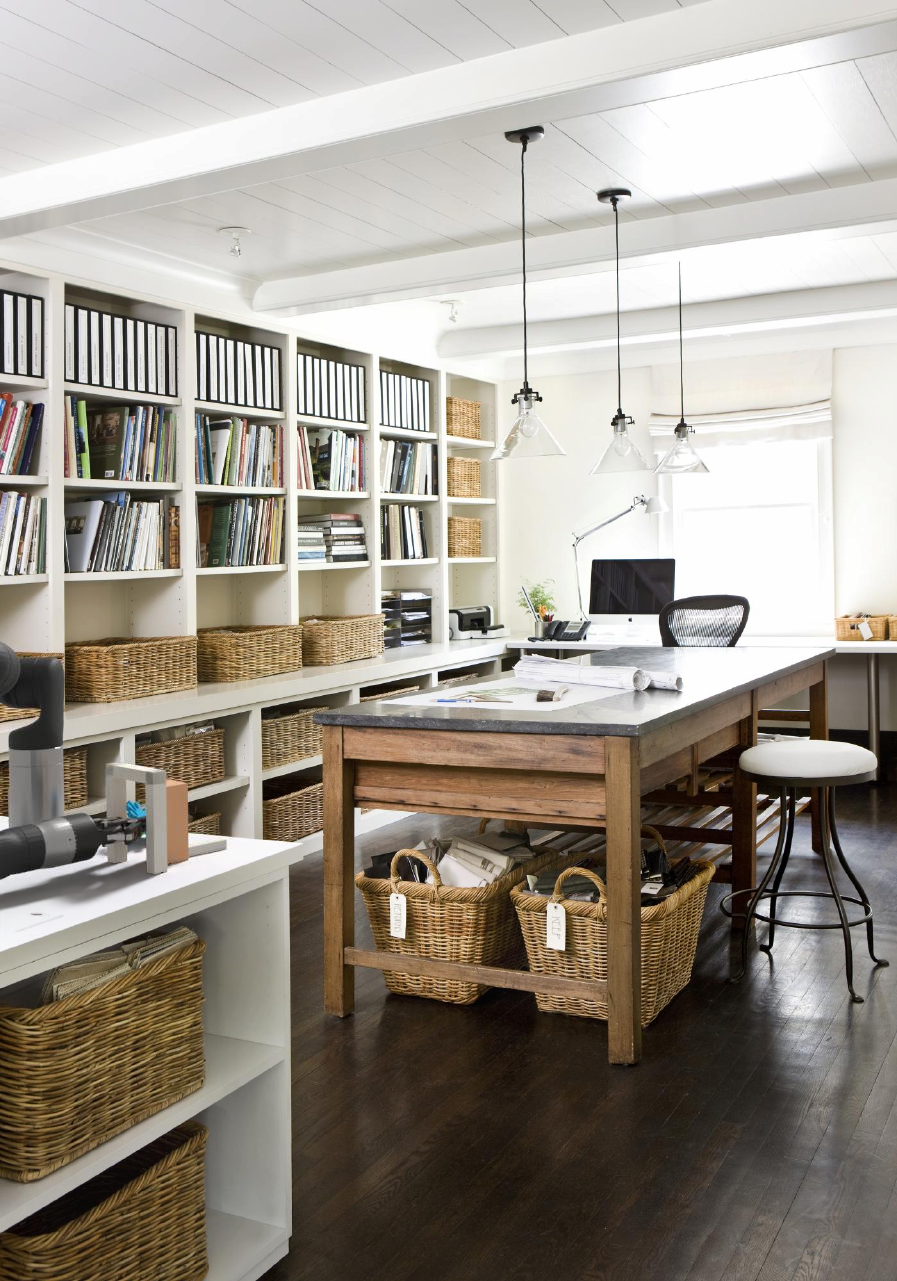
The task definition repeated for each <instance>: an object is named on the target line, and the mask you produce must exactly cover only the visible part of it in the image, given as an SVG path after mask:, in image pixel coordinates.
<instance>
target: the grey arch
mask: <svg viewBox="0 0 897 1281" xmlns="http://www.w3.org/2000/svg"><path fill="white" fill-rule="evenodd" d="M166 780H167V770H165V769H159V768H153V767H149V766H143V765H137V764H132V763H125V762H122V761H121V762H120V761H116V762H109V763H106V764H105V781H106V782H105V785H106V786H105V787H106V789H105V790H106V796H105V797H106V818H113V817H122V819H125V818H128V815H127V813H128V811H127V808H126V803H127V781H130V782H131V781H132V782H136V783H141V784H144V785H145V784H146V796H145V807H146V835H145V837H146V836H147V860H146V873H147V872H148V873H147V874H151V875H159V874H162V873H161V872H163V873H167V872H168V864H167V805H166ZM106 849H107V855H106V856H107V862H108V861H109V862H108V863H112V864H118V863H122V861H123V862H126V861H128V845H125V843H124V841H123V842H119V843H115V844H114V845H113V846H109V847H106Z"/></svg>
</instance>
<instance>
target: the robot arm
mask: <svg viewBox="0 0 897 1281" xmlns="http://www.w3.org/2000/svg"><path fill="white" fill-rule="evenodd" d="M65 676H66V675H65V671H64V666H63V663H62V661H61V660H60V659H58V658H56V657H51V656H50V657H49V656H47V657H46V656H44V657H43V656H40V657H38V656H36V657H35V656H34V657H33V656H31V657H29V656H28V657H27V656H23V657H22V656H20V657H19V656H18V654H17V653H16V652H15V650H14V649H13V648H12V647H10V646H9V645H7V644H6V643H5V642H2V641H0V704H2V705H3V706H6V707H8V708H10V709H21V710H24V709H25V710H35V709H39V710H40V712H39V716H38V718H37V719H36V720H34V722H31V723H30V724H27V725H25V726H22V727H18V728H16V729H14V730H12V731H10V732H9V734H8V739H7V740H8V772H9V777H8V778H9V783H8V784H9V788H8V789H7V800H8V805H7V806H8V828H5V829H2V830H0V881H1V880H3V879H7V878H8V877H9V876H12V875H19V874H25V873H28V872H33V871H37V870H45V869H53V868H59V867H63V866H67V865H72V864H76V863H80V862H85V861H89V860H91V859H93V858H94V857H95V855H97V852H98V850H99V848H100V847H102V848H107V847H109V846H113V845H114V844H115V843H119V842H123V841H124V843H125V845H127V846H132V845H133V844H134V843H136V842H137V841H138V840H140V838H141V837H142V836H141V832H146V816H144V817H139V818H134V819H132V818H129V817H127V818H125V819H122V817H113V818H107V817H100V818H99V817H98V818H97V817H96V818H95V817H93V818H92V816H90V815H89V814H87V813H85V812H79V813H78V812H77V813H73V814H67V815H65V782H64V781H65V780H64V779H65V775H64V773H65V772H64V769H65V768H64V767H65V766H64V729H65V728H64V725H65V723H64V722H65V721H64V719H65V718H64V716H65V715H64V713H65V712H64V710H65V709H64V708H65V684H66V681H65V680H66V679H65Z"/></svg>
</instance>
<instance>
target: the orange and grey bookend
mask: <svg viewBox="0 0 897 1281" xmlns="http://www.w3.org/2000/svg"><path fill="white" fill-rule="evenodd" d="M144 785H145V788H144V790H145V794H144V795H145V797H146V784H145V783H144ZM188 785H189V784H188V783H187V782H183V781H178V780H174V779H166V805H167V865H170V864H169V863H171V864H174V863H179V861H180V862H183V861H188V859H190V857H195V856H199V854H200V855H203V854H208V852H209V853H214V852H218V851H223V850H226V849H228V848H227V846H228V843H227V842H228V839H226V838H221V837H220V838H215V839H210V840H204V841H200V842H196V843H195V842H194V843H190V844H189V796H188V795H189V791H188V790H189V786H188ZM145 842H146V843H145V846H146V847H145V848H146V849H145V850H146V852H145V853H146V857H145V859H146V861H147V836H146V835H145Z"/></svg>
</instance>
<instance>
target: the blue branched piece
mask: <svg viewBox="0 0 897 1281" xmlns="http://www.w3.org/2000/svg"><path fill="white" fill-rule="evenodd" d="M141 806H142V805H141V804H140V803H138V801H134V802H133V801H132V800H128V801H126V808H127V818H132V819H134V818H139V817H144V816H146V806H145V807H144V808H142V809H141ZM144 835H145V836H146V832H141V837H142V836H144Z"/></svg>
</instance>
